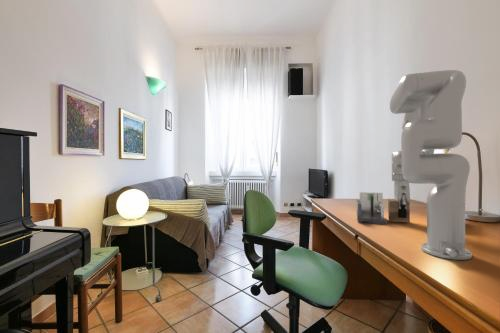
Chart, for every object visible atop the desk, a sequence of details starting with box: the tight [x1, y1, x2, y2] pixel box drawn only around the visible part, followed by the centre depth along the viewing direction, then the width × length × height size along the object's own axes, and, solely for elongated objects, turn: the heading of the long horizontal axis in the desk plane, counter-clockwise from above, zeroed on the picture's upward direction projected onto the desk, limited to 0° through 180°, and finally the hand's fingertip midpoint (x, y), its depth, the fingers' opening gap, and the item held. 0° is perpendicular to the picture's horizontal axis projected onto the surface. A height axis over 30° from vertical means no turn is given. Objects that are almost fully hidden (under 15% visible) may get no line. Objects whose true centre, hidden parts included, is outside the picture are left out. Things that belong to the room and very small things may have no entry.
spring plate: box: [376, 203, 385, 218], centre depth 119 cm, size 8×3×6 cm, turn 159°
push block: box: [387, 198, 411, 223], centre depth 116 cm, size 4×8×10 cm, turn 69°
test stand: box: [356, 191, 387, 225], centre depth 120 cm, size 12×12×13 cm
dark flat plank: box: [371, 196, 374, 217], centre depth 123 cm, size 2×1×10 cm, turn 159°
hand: (401, 216), depth 116 cm, fingers closed on push block, 3 cm apart
